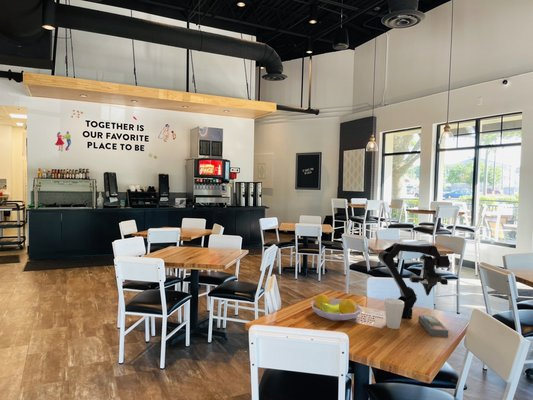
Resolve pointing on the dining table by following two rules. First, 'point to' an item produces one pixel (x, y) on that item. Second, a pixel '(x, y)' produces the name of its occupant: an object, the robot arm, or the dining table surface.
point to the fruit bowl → (335, 308)
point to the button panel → (430, 329)
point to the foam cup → (393, 312)
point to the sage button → (432, 321)
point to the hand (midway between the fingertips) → (427, 295)
